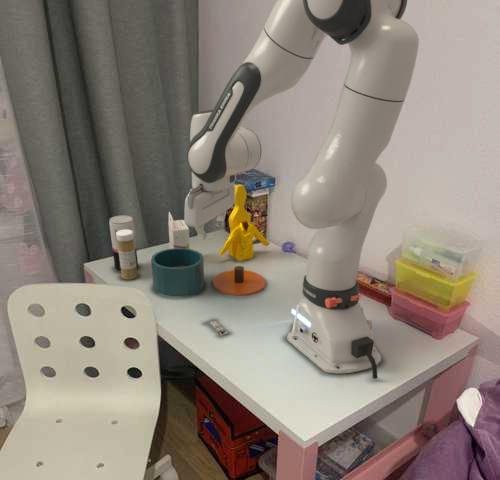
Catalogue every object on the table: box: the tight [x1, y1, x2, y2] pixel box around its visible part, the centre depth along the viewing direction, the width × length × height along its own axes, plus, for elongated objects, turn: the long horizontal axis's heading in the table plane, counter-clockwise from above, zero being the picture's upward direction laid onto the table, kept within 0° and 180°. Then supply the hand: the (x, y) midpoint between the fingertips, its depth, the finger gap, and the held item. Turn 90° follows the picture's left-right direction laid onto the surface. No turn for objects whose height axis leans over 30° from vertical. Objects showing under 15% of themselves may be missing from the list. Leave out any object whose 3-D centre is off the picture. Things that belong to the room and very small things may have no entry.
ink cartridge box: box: [168, 211, 191, 249], centre depth 144 cm, size 9×5×15 cm, turn 17°
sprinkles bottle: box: [116, 229, 138, 281], centre depth 135 cm, size 5×5×14 cm
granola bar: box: [209, 320, 229, 337], centre depth 115 cm, size 7×2×1 cm, turn 34°
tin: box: [150, 248, 205, 298], centre depth 131 cm, size 14×14×8 cm
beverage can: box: [108, 214, 139, 273], centre depth 139 cm, size 6×7×15 cm
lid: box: [212, 265, 266, 296], centre depth 134 cm, size 15×15×5 cm
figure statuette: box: [218, 183, 271, 261], centre depth 146 cm, size 18×8×22 cm, turn 121°
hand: (211, 233), depth 127 cm, fingers open, 8 cm apart
